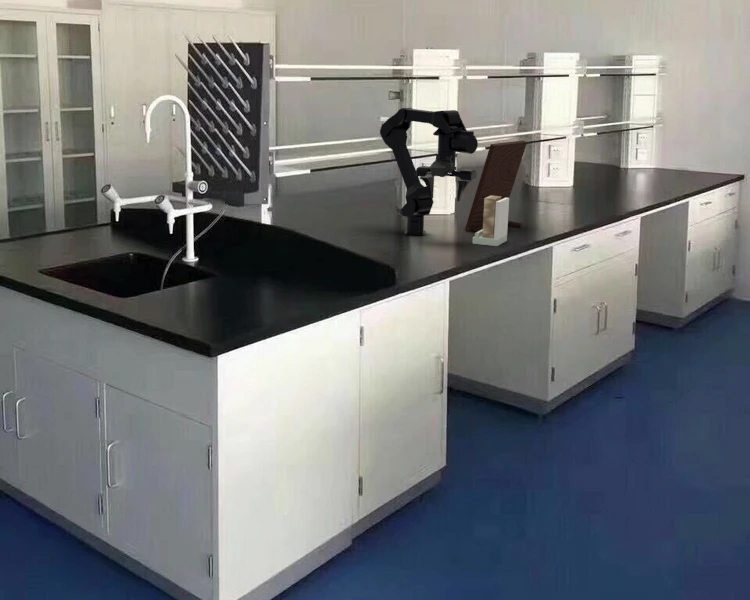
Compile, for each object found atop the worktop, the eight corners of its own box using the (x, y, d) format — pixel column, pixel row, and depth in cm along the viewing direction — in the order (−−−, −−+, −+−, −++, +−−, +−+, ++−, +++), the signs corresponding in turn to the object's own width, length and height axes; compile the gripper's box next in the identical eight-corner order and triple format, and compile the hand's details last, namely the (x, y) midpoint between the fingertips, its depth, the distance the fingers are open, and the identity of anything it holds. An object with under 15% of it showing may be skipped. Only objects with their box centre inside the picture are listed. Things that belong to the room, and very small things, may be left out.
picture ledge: (472, 243, 288) (474, 199, 284) (482, 238, 297) (484, 195, 293) (497, 246, 284) (499, 202, 281) (506, 240, 293) (509, 197, 289)
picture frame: (497, 223, 324) (502, 138, 316) (523, 227, 318) (528, 140, 310) (464, 230, 308) (469, 142, 300) (491, 235, 302) (496, 144, 294)
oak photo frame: (481, 237, 288) (483, 198, 284) (488, 233, 293) (490, 195, 290) (492, 238, 286) (495, 199, 283) (499, 234, 292) (501, 196, 289)
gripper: (409, 151, 281) (408, 201, 285) (466, 155, 274) (463, 206, 278) (423, 148, 291) (421, 196, 295) (478, 151, 283) (475, 201, 288)
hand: (444, 200), depth 289 cm, fingers open, 9 cm apart
